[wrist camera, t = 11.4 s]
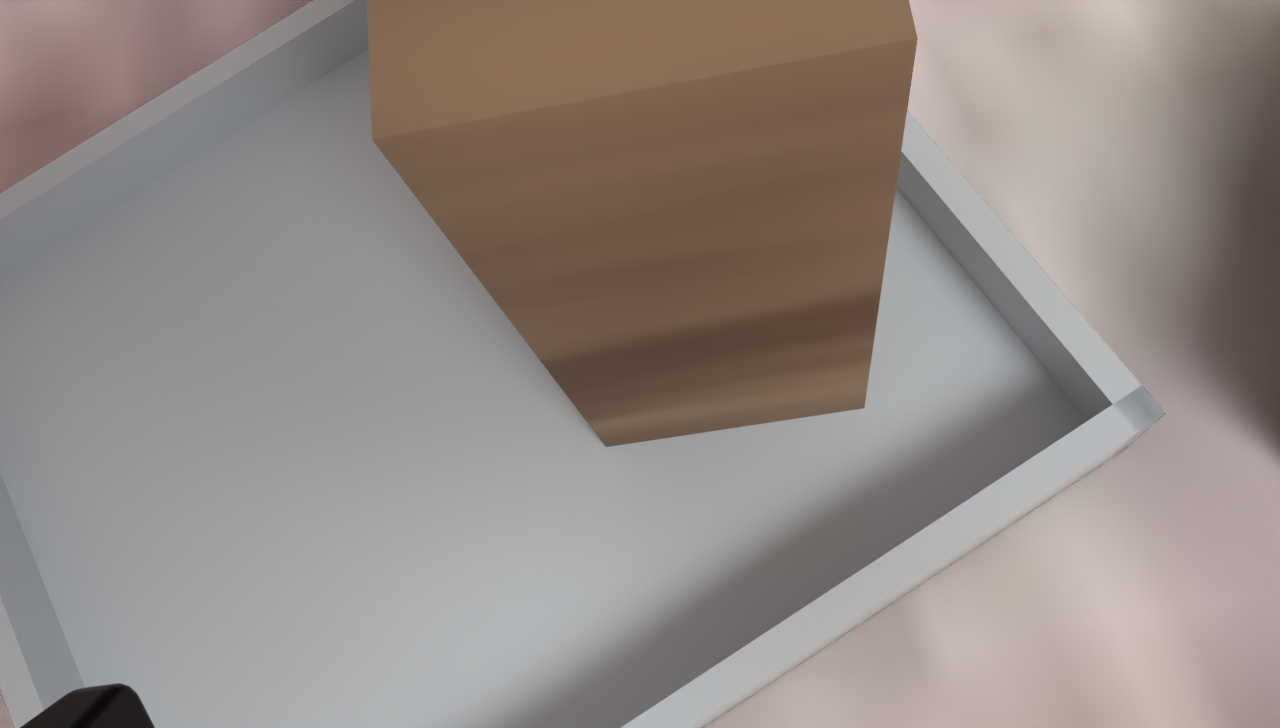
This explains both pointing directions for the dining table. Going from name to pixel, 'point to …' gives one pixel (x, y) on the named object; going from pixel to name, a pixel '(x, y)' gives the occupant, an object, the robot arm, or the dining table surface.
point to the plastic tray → (457, 440)
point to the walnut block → (661, 189)
